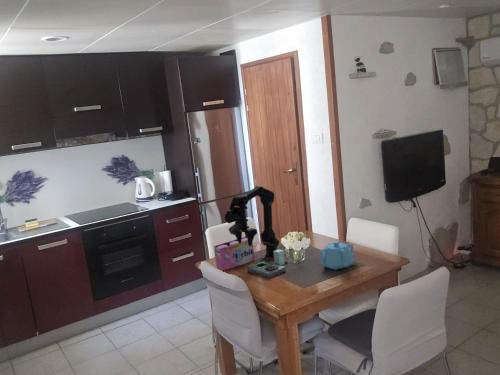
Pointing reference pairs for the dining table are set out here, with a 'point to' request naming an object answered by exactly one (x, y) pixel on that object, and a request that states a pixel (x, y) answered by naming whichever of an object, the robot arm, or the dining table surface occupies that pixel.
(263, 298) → the dining table surface
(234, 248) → the gum box
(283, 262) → the plug
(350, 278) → the dining table surface
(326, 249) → the decorative pot
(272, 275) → the panel
